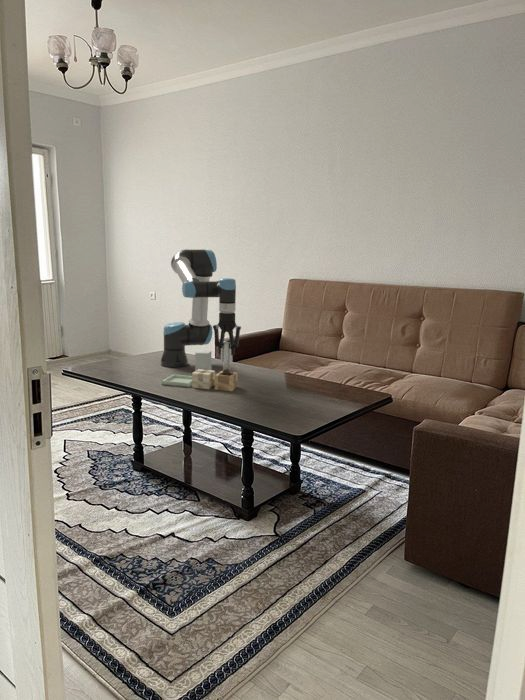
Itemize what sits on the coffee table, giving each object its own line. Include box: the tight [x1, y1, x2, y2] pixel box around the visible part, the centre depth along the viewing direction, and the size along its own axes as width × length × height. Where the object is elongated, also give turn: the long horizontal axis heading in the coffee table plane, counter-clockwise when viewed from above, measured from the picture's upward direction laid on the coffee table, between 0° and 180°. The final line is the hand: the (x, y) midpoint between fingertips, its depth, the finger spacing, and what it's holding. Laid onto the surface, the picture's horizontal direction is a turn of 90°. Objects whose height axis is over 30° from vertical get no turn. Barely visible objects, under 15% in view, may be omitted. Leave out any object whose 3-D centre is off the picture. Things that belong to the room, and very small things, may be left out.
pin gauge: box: [222, 341, 231, 376], centre depth 255 cm, size 4×4×16 cm
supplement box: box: [194, 349, 212, 372], centre depth 281 cm, size 7×7×13 cm
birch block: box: [191, 369, 216, 390], centre depth 260 cm, size 8×8×7 cm
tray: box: [161, 374, 192, 388], centre depth 266 cm, size 14×14×2 cm
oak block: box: [214, 370, 239, 392], centre depth 258 cm, size 8×8×7 cm
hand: (226, 361), depth 256 cm, fingers closed on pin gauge, 3 cm apart
